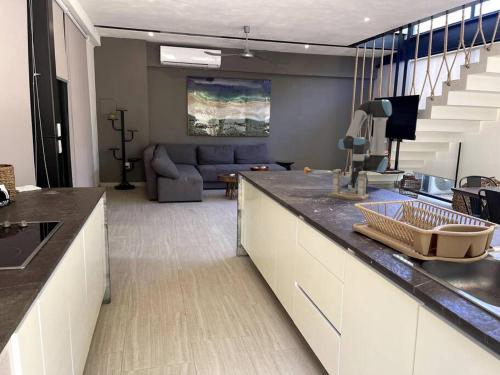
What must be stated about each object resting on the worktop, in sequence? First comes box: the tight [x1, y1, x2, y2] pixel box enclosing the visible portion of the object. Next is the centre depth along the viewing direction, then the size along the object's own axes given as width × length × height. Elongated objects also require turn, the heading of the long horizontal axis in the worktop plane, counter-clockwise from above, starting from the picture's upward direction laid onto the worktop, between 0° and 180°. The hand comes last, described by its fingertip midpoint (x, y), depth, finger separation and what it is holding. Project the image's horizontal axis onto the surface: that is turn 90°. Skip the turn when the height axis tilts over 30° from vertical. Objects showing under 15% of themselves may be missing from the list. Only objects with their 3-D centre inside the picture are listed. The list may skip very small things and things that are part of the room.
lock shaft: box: [302, 166, 334, 176], centre depth 259 cm, size 5×24×5 cm, turn 55°
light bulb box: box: [347, 177, 368, 195], centre depth 262 cm, size 11×7×11 cm, turn 105°
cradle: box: [326, 168, 371, 202], centre depth 248 cm, size 14×24×18 cm, turn 55°
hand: (356, 191), depth 262 cm, fingers closed on light bulb box, 12 cm apart
